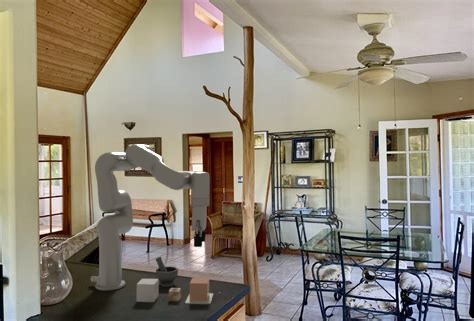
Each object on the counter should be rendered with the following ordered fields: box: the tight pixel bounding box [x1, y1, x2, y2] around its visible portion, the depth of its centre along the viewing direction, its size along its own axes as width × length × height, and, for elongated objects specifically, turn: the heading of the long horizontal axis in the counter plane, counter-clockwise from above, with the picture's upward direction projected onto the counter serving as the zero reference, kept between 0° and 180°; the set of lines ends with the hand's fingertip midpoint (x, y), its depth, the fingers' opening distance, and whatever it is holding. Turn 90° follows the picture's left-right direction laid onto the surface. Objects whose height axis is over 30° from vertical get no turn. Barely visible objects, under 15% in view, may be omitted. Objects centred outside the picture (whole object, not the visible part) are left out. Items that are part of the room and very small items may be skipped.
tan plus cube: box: [168, 287, 182, 302], centre depth 149 cm, size 4×4×4 cm
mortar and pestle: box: [155, 256, 179, 288], centre depth 167 cm, size 11×9×12 cm
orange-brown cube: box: [189, 277, 210, 301], centre depth 149 cm, size 7×7×7 cm
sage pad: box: [184, 292, 214, 305], centre depth 149 cm, size 10×11×1 cm
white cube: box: [136, 278, 160, 303], centre depth 149 cm, size 7×7×7 cm
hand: (199, 244), depth 150 cm, fingers open, 9 cm apart
